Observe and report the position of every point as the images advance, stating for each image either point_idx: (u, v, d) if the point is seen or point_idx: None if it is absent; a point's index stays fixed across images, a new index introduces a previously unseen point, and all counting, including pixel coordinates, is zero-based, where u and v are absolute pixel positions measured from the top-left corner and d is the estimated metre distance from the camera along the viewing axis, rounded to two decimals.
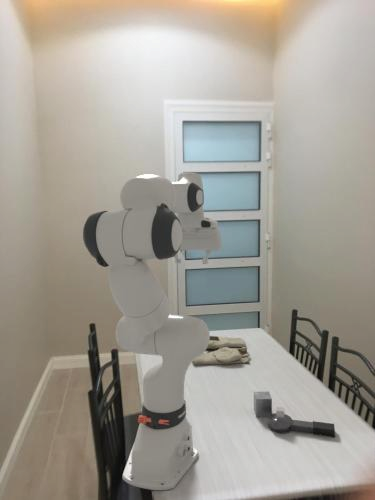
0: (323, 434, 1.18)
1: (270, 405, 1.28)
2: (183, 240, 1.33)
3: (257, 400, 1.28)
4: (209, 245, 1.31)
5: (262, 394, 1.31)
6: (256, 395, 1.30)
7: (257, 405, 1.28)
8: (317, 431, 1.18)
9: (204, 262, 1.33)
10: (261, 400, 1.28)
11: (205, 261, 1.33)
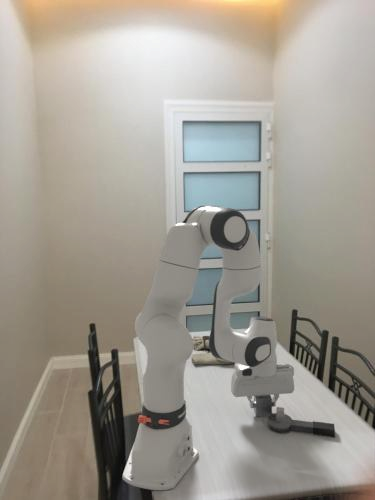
0: (323, 434, 1.18)
1: (270, 405, 1.28)
2: None
3: (257, 400, 1.28)
4: None
5: None
6: None
7: (257, 405, 1.28)
8: (317, 431, 1.18)
9: None
10: (261, 400, 1.28)
11: None
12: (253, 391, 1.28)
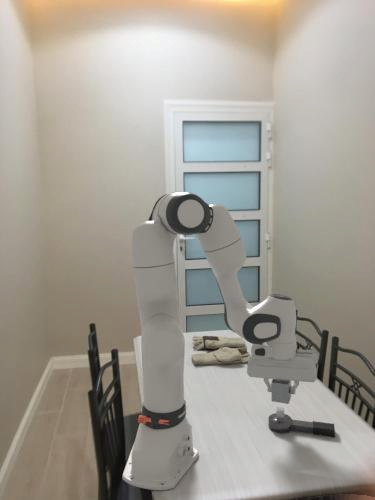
0: (323, 434, 1.18)
1: (287, 391, 1.18)
2: None
3: (272, 383, 1.20)
4: None
5: None
6: (274, 379, 1.22)
7: (273, 389, 1.20)
8: (317, 431, 1.18)
9: None
10: (277, 384, 1.19)
11: None
12: (269, 373, 1.20)
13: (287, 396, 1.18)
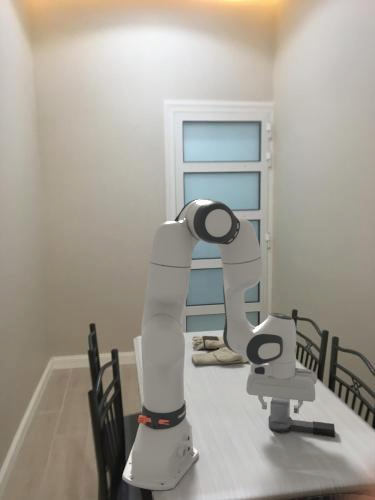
0: (323, 434, 1.18)
1: (286, 412, 1.19)
2: None
3: (272, 404, 1.20)
4: None
5: (280, 399, 1.22)
6: (273, 399, 1.22)
7: (271, 409, 1.21)
8: (317, 431, 1.18)
9: None
10: (276, 405, 1.20)
11: None
12: (268, 391, 1.21)
13: (286, 417, 1.19)
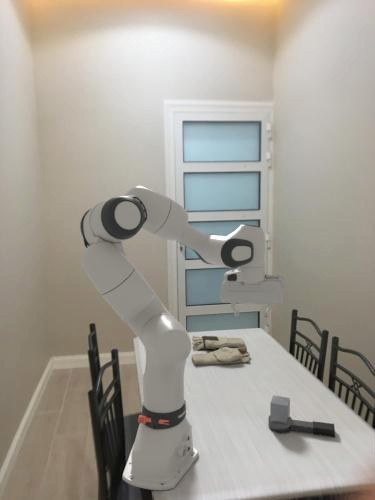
0: (323, 434, 1.18)
1: (286, 412, 1.19)
2: None
3: (272, 404, 1.20)
4: None
5: (280, 399, 1.22)
6: (273, 399, 1.22)
7: (271, 409, 1.21)
8: (317, 431, 1.18)
9: None
10: (276, 405, 1.20)
11: None
12: (240, 298, 1.29)
13: (286, 417, 1.19)
